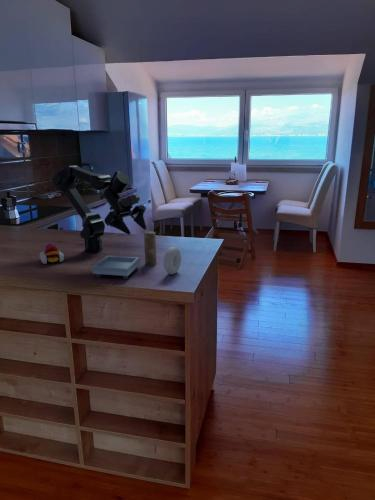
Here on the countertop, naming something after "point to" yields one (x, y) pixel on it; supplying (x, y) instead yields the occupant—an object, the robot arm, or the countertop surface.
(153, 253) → the walnut spindle
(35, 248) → the countertop surface
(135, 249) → the countertop surface
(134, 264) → the tray
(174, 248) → the donut
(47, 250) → the red yellow rounded shape
